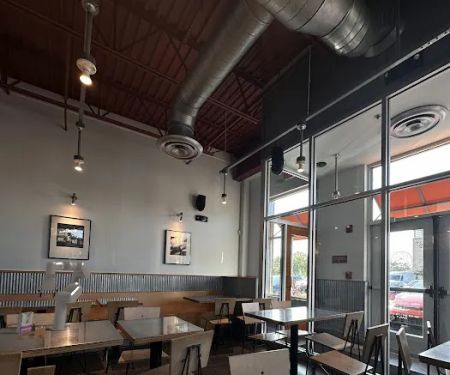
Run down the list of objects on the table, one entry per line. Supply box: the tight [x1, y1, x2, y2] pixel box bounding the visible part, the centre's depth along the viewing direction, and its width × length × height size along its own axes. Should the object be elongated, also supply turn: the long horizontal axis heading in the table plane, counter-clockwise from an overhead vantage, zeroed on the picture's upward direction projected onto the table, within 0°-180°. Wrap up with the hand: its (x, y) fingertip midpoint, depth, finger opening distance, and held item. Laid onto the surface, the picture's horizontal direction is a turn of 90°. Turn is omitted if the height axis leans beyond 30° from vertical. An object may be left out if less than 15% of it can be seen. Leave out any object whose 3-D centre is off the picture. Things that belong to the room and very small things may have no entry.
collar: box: [34, 326, 46, 336], centre depth 277 cm, size 7×7×5 cm
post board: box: [16, 325, 48, 340], centre depth 272 cm, size 20×20×8 cm
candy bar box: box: [15, 311, 35, 334], centre depth 285 cm, size 11×5×16 cm, turn 161°
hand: (47, 297), depth 292 cm, fingers open, 9 cm apart
